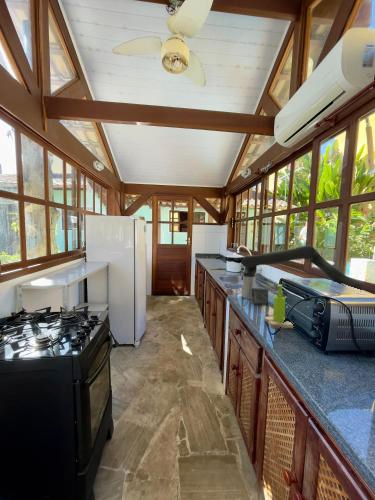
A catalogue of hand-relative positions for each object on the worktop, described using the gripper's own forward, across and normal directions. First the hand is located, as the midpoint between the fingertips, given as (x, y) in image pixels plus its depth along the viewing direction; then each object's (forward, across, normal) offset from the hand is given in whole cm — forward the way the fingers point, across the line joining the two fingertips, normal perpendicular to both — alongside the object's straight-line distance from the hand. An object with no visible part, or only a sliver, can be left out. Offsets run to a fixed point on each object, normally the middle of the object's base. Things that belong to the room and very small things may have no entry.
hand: (295, 287), depth 129 cm
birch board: (+10, +6, +20) cm, 23 cm away
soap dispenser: (+10, +5, +18) cm, 21 cm away
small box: (+10, -31, +21) cm, 39 cm away
